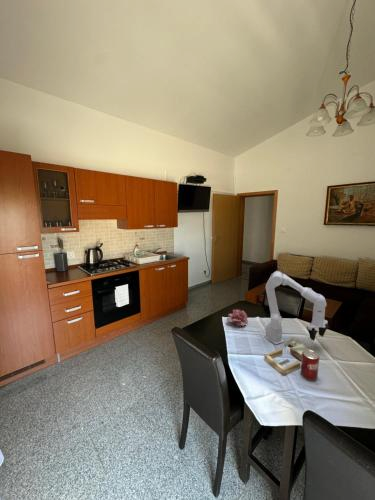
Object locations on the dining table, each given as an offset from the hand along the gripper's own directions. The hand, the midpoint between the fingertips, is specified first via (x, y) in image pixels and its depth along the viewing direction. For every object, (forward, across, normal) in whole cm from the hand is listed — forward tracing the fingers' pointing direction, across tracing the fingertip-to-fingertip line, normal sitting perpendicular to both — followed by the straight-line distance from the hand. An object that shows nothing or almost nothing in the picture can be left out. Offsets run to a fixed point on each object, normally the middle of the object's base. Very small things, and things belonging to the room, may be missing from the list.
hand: (316, 337), depth 124 cm
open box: (+7, -13, 0) cm, 15 cm away
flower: (+7, -23, +44) cm, 50 cm away
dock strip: (+7, -26, 0) cm, 27 cm away
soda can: (+7, -22, -12) cm, 26 cm away
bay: (+7, -26, 0) cm, 27 cm away
